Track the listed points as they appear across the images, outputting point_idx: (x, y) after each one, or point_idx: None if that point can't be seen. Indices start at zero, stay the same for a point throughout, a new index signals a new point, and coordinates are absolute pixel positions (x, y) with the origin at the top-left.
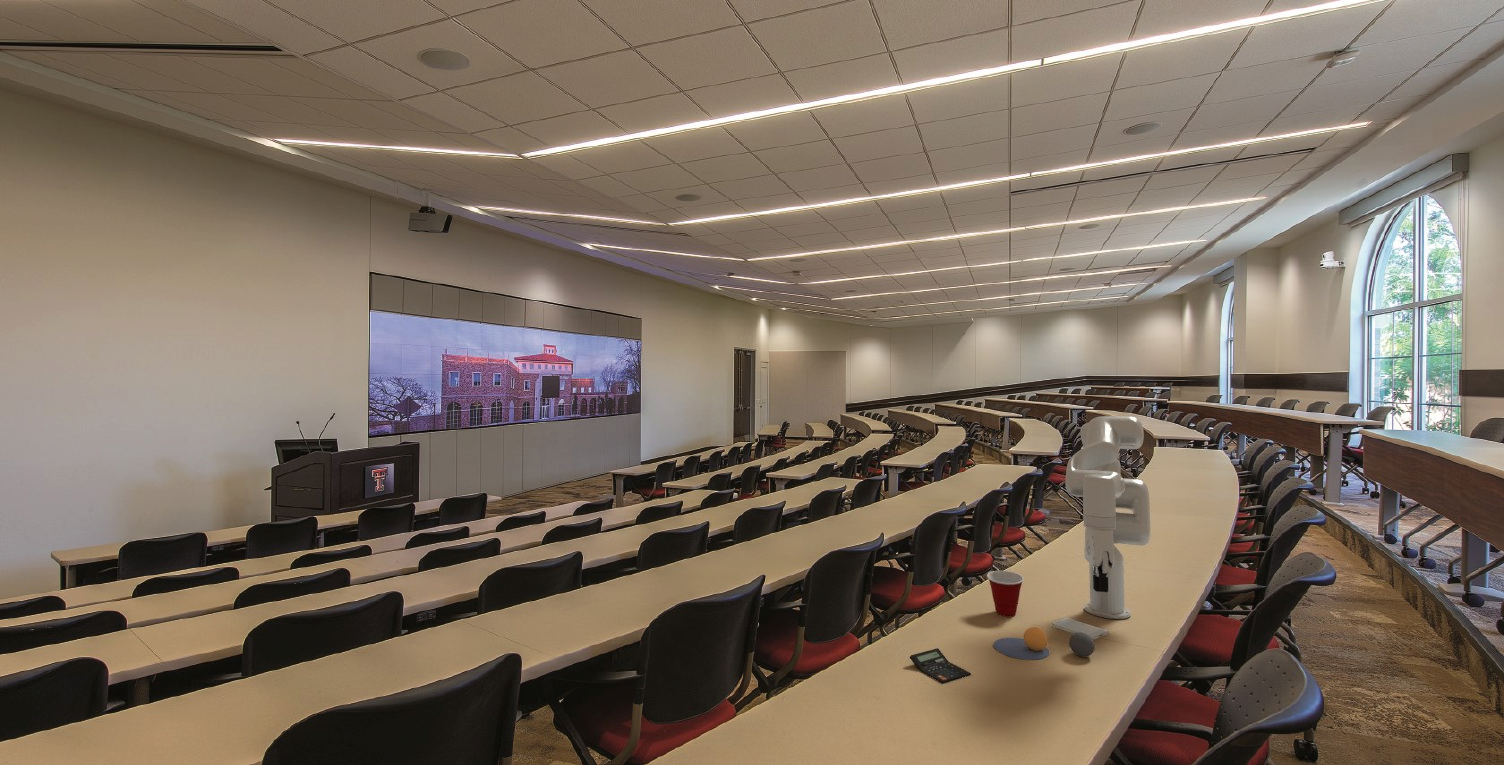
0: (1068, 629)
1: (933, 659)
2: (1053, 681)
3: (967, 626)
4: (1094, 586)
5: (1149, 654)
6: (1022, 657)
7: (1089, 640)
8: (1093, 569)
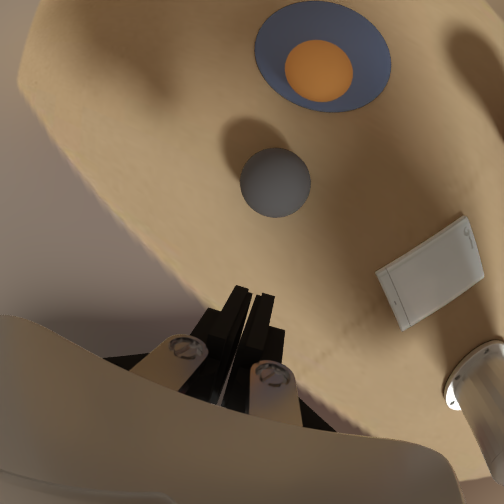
0: (432, 239)
1: None
2: (150, 64)
3: (447, 17)
4: (241, 297)
5: None
6: (264, 32)
7: (246, 194)
8: (270, 391)
